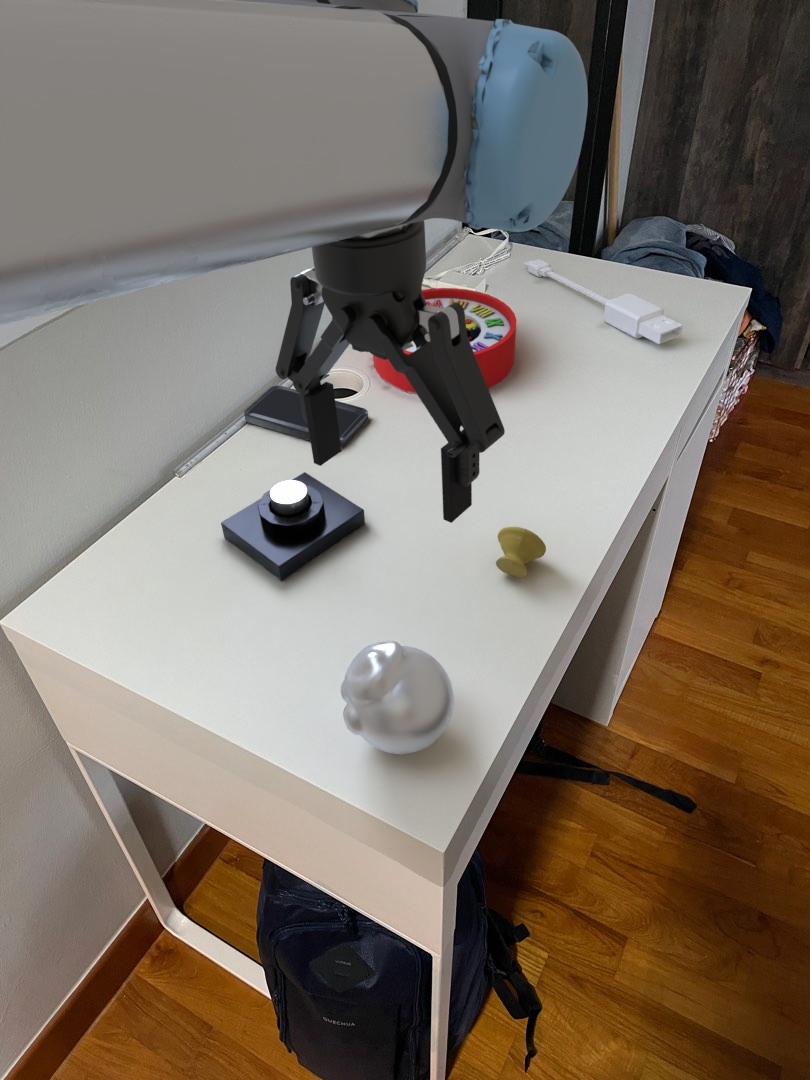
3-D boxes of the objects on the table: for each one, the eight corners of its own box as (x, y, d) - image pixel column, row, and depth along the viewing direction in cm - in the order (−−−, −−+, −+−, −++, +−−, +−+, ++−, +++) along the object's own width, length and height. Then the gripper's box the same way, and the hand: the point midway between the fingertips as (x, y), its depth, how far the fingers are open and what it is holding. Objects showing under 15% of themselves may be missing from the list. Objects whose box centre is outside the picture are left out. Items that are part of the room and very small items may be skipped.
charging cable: (539, 268, 139) (540, 249, 136) (681, 340, 117) (685, 318, 115) (515, 276, 137) (516, 256, 135) (655, 350, 115) (659, 328, 113)
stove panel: (281, 581, 85) (276, 553, 82) (223, 537, 90) (217, 510, 87) (365, 524, 91) (363, 496, 88) (306, 486, 96) (302, 459, 93)
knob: (501, 546, 88) (503, 510, 84) (547, 559, 86) (551, 524, 82) (484, 574, 84) (486, 539, 81) (532, 589, 83) (536, 553, 79)
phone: (340, 442, 100) (240, 413, 106) (340, 450, 101) (241, 420, 106) (371, 409, 105) (274, 383, 111) (372, 417, 106) (275, 390, 111)
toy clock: (497, 281, 121) (533, 349, 106) (496, 318, 125) (530, 388, 110) (363, 295, 119) (380, 365, 104) (365, 331, 123) (383, 404, 108)
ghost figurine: (380, 671, 76) (374, 597, 69) (471, 713, 72) (474, 639, 65) (324, 744, 70) (311, 672, 63) (419, 794, 66) (416, 723, 60)
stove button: (288, 524, 86) (286, 509, 85) (264, 507, 88) (261, 492, 87) (317, 505, 88) (315, 490, 87) (293, 489, 90) (291, 475, 89)
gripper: (565, 233, 49) (546, 512, 62) (272, 174, 61) (309, 418, 75) (496, 276, 44) (492, 567, 58) (195, 204, 57) (250, 457, 71)
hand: (389, 483), depth 67 cm, fingers open, 13 cm apart
